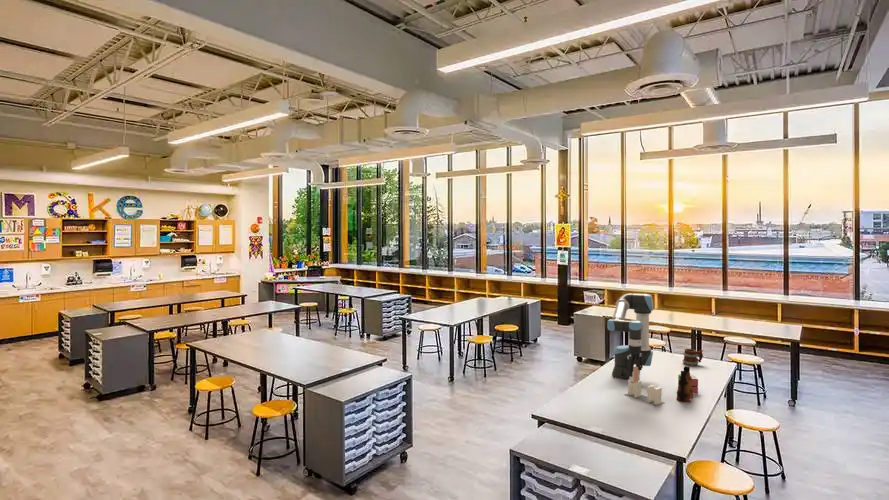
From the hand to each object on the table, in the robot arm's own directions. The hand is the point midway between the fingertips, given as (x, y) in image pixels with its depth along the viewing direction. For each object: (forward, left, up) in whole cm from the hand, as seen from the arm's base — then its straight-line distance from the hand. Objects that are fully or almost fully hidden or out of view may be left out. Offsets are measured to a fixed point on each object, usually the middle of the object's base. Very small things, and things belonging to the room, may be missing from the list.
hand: (634, 380), depth 305 cm
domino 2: (-5, +10, -14) cm, 18 cm away
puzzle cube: (+5, +50, -15) cm, 52 cm away
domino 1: (-10, +10, -14) cm, 19 cm away
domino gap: (0, 0, -1) cm, 1 cm away
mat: (0, +10, -14) cm, 17 cm away
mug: (-30, +112, -14) cm, 117 cm away
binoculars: (+13, +34, -15) cm, 39 cm away
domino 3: (+5, +10, -14) cm, 18 cm away
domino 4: (+10, +10, -14) cm, 20 cm away
